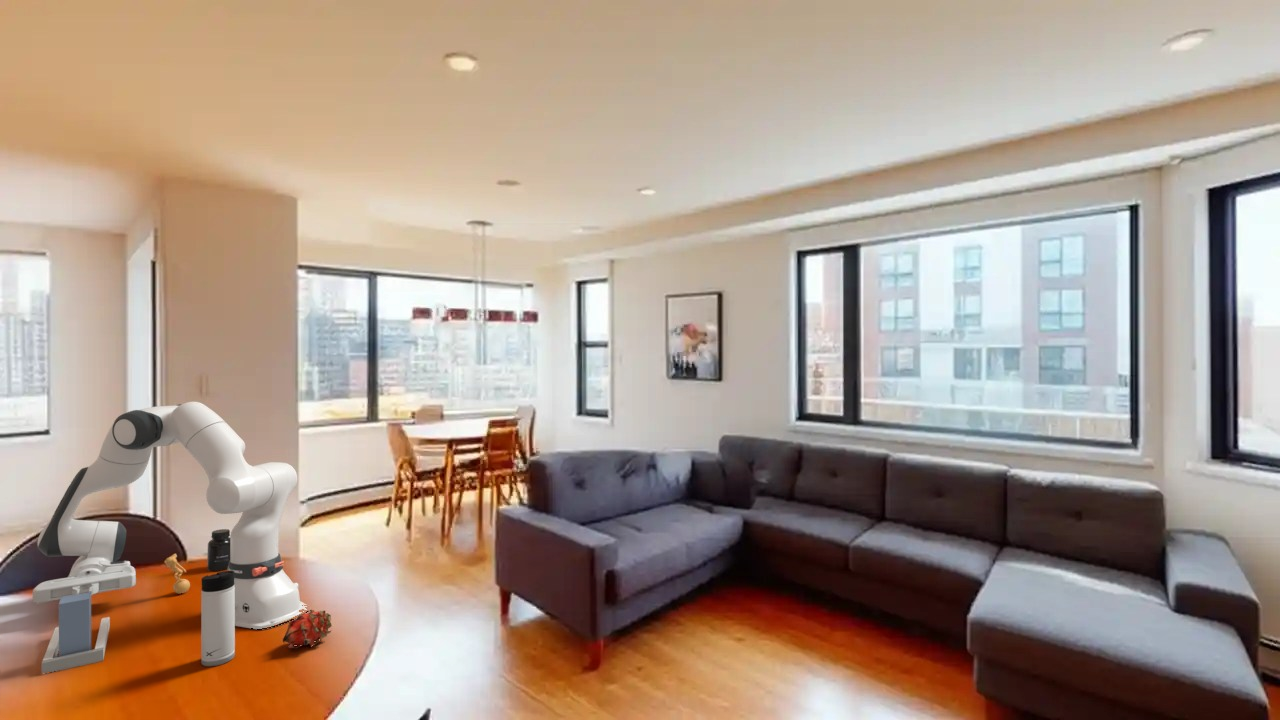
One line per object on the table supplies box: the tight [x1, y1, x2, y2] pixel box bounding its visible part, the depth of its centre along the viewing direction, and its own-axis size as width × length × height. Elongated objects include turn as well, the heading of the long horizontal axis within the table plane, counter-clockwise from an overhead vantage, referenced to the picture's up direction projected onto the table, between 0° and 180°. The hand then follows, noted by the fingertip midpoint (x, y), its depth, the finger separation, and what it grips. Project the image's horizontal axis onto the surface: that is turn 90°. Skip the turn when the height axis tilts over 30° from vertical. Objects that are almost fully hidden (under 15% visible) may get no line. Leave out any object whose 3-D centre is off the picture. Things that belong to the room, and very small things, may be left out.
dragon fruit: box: [282, 608, 332, 649], centre depth 147 cm, size 8×8×12 cm
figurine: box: [163, 553, 191, 595], centre depth 176 cm, size 8×6×12 cm
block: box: [58, 592, 92, 657], centre depth 139 cm, size 5×5×14 cm
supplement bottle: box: [206, 528, 231, 572], centre depth 198 cm, size 7×7×12 cm
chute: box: [41, 616, 111, 675], centre depth 144 cm, size 22×10×2 cm, turn 38°
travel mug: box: [200, 570, 236, 667], centre depth 139 cm, size 6×7×20 cm
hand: (84, 594), depth 157 cm, fingers closed
